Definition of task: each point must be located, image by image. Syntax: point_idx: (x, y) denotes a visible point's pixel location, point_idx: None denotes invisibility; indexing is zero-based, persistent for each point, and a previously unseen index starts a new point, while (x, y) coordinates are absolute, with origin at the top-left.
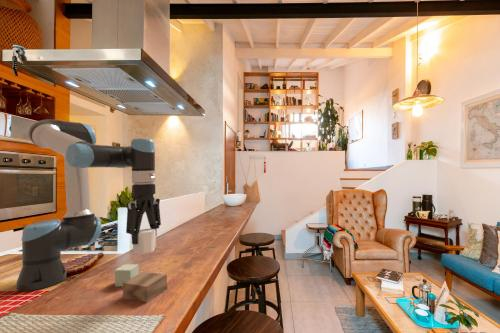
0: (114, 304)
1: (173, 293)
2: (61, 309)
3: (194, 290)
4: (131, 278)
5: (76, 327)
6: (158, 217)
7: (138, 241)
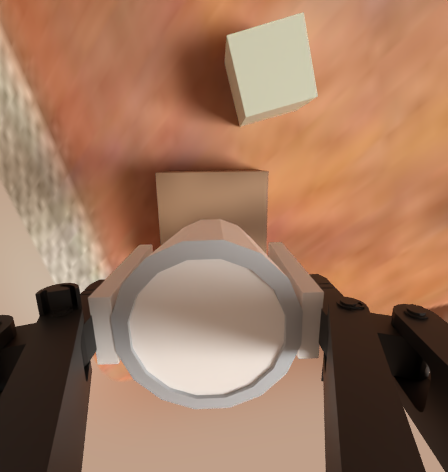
0: (127, 178)
1: None
2: (34, 30)
3: None
4: (198, 173)
5: (5, 181)
6: (444, 457)
7: None
